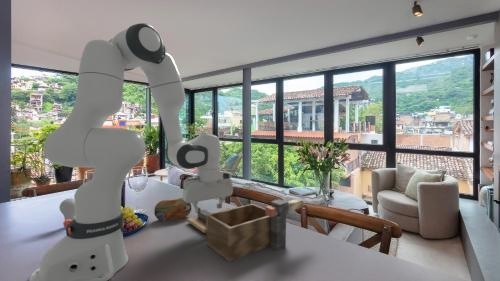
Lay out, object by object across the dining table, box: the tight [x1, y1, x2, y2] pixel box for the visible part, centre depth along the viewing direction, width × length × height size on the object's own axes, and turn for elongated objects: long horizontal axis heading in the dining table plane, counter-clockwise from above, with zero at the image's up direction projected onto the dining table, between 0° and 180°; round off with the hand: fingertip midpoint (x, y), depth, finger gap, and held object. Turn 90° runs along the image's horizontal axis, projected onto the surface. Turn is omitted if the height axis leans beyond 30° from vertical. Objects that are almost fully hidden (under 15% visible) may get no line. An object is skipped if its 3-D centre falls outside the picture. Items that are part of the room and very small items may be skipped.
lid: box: [187, 208, 229, 234], centre depth 101 cm, size 20×18×5 cm
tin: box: [153, 197, 192, 222], centre depth 107 cm, size 15×3×8 cm, turn 114°
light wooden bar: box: [264, 198, 304, 217], centre depth 85 cm, size 15×3×2 cm, turn 129°
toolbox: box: [205, 199, 290, 263], centre depth 83 cm, size 20×18×15 cm
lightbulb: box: [58, 197, 75, 221], centre depth 98 cm, size 6×6×11 cm
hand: (208, 210), depth 98 cm, fingers open, 8 cm apart
